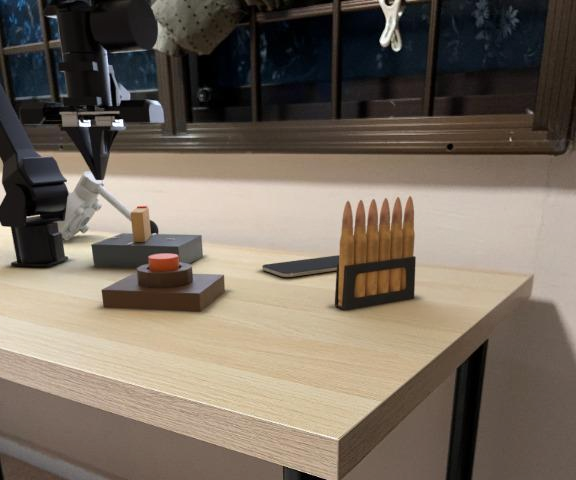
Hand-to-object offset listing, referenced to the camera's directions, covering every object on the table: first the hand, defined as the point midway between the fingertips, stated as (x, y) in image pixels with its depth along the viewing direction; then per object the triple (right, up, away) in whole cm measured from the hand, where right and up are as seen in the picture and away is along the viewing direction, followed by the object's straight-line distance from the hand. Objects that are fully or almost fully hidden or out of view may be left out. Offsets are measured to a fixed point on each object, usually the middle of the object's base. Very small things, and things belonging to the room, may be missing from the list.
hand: (99, 180), depth 86 cm
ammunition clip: (+37, -19, -13) cm, 44 cm away
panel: (+5, -9, +12) cm, 16 cm away
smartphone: (+31, -12, +5) cm, 33 cm away
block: (+4, -6, +11) cm, 13 cm away
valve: (-9, -1, +32) cm, 33 cm away
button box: (+12, -18, -11) cm, 24 cm away
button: (+12, -15, -12) cm, 22 cm away
